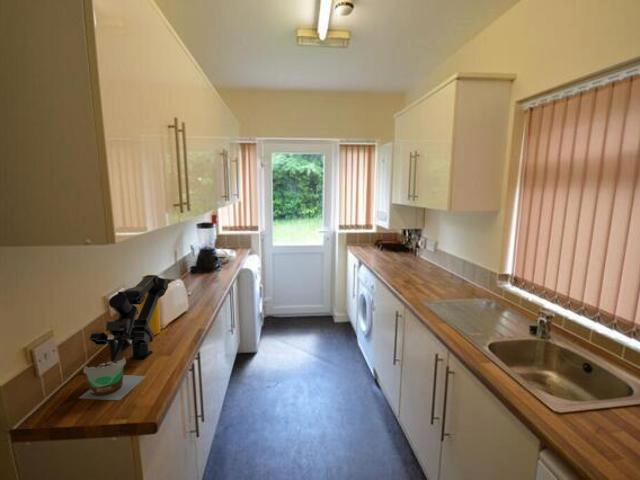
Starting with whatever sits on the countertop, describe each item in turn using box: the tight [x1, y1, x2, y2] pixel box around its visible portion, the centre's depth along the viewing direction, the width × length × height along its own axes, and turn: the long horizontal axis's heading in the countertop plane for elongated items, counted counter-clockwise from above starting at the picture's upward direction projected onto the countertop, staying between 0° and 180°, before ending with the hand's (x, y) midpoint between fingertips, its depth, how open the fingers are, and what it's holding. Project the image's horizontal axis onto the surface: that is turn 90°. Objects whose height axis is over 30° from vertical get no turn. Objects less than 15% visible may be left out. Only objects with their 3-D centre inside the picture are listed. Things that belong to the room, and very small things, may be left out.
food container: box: [83, 357, 127, 396], centre depth 113 cm, size 12×6×10 cm, turn 126°
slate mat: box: [78, 374, 147, 402], centre depth 117 cm, size 15×14×1 cm
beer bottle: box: [137, 273, 161, 336], centre depth 163 cm, size 9×9×29 cm
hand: (112, 361), depth 118 cm, fingers closed
